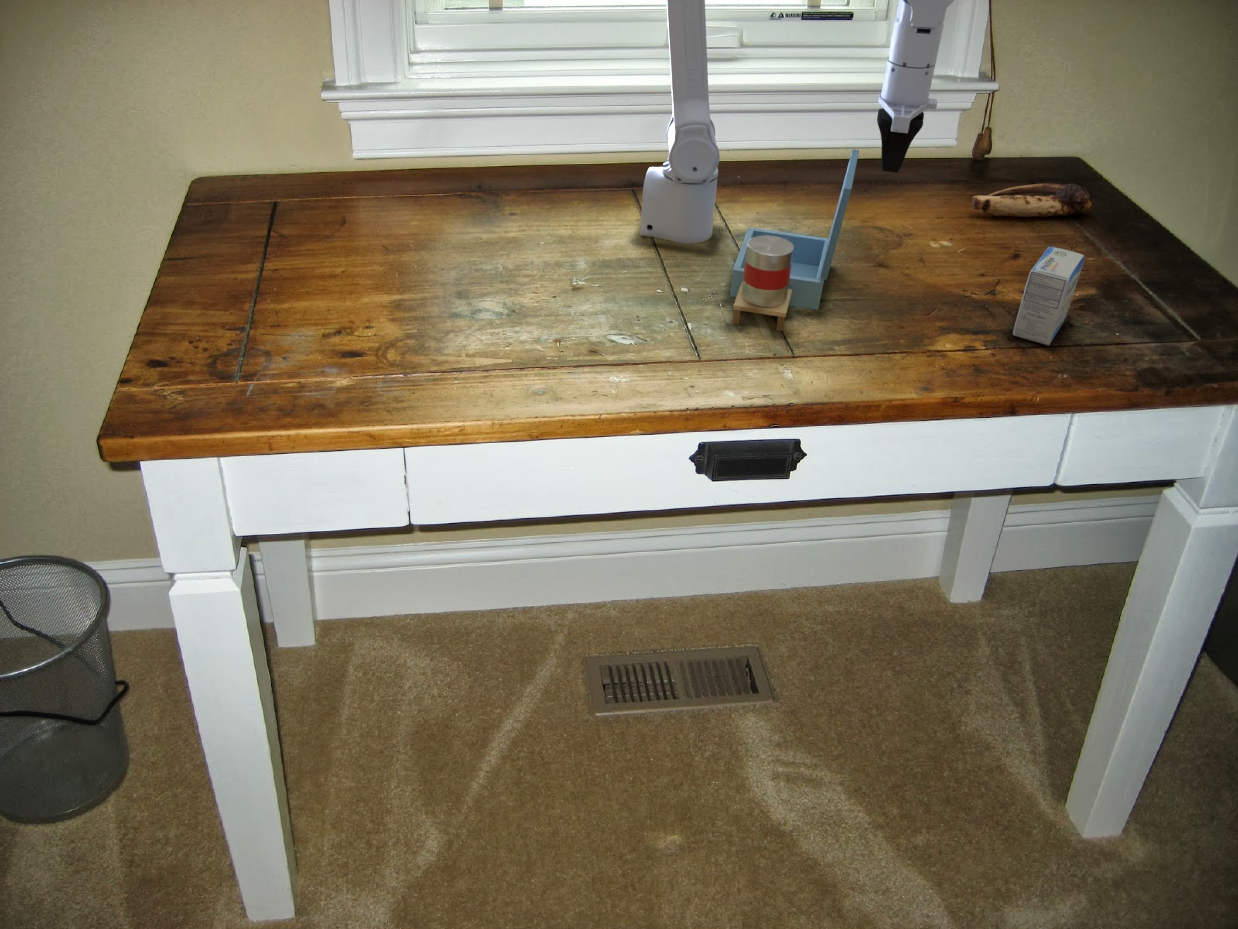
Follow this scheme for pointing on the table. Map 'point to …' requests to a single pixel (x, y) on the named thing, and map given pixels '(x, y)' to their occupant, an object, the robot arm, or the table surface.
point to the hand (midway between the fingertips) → (890, 169)
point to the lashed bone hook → (1035, 201)
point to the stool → (761, 309)
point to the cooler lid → (839, 214)
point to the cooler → (792, 267)
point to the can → (767, 271)
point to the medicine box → (1048, 295)
